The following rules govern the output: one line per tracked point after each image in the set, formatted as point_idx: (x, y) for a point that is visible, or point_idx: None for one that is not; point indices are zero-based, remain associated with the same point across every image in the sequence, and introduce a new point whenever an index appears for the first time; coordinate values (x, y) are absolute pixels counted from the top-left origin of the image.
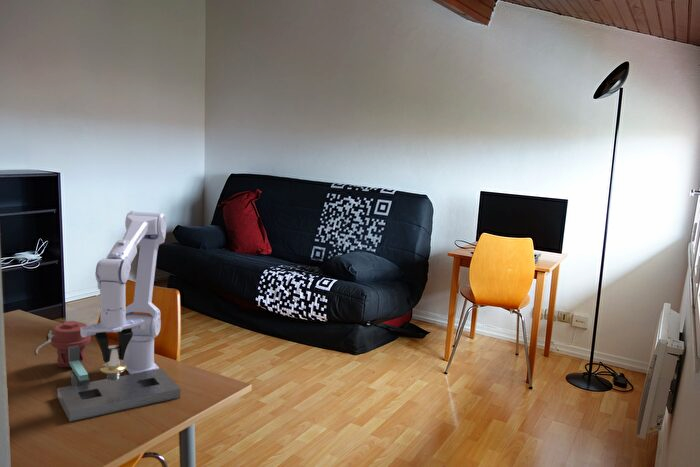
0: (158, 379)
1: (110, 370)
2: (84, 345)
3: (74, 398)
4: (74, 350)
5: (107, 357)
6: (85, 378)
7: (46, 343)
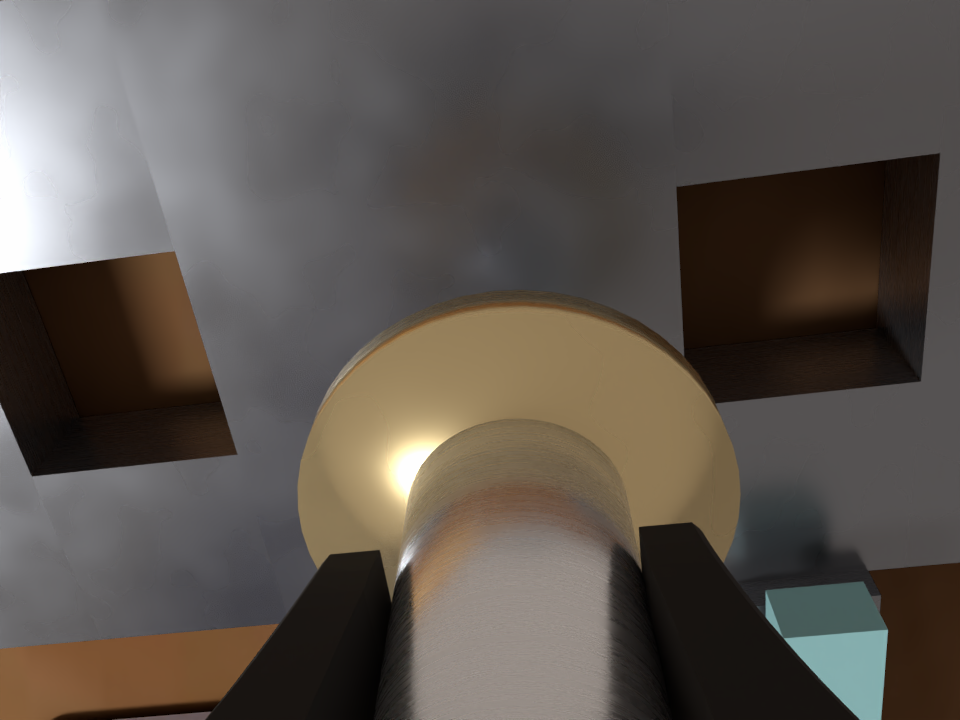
0: None
1: (596, 367)
2: None
3: None
4: None
5: (679, 583)
6: (801, 600)
7: None
